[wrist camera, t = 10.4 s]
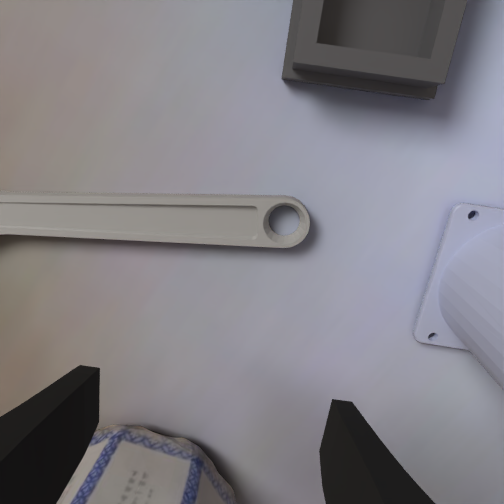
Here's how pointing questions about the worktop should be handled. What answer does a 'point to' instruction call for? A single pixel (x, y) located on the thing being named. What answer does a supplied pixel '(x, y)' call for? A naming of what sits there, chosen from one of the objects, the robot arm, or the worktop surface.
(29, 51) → the worktop surface
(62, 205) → the adjustable wrench
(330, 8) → the dark grey square holder
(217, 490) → the potted plant
